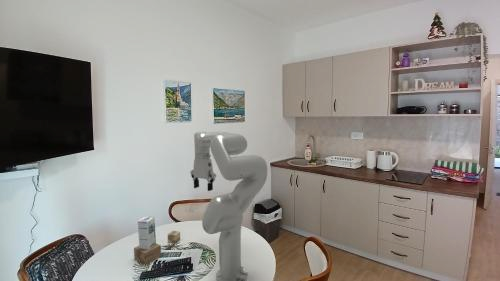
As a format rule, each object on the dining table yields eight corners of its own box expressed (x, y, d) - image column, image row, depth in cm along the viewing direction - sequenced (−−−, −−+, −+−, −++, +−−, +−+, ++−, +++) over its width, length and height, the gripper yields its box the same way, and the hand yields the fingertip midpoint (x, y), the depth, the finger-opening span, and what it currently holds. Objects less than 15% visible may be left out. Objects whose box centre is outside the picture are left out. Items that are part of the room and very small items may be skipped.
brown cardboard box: (161, 256, 132) (160, 245, 132) (145, 265, 125) (144, 253, 124) (150, 251, 137) (149, 240, 137) (134, 259, 130) (133, 247, 129)
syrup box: (149, 250, 127) (148, 221, 126) (138, 248, 129) (137, 220, 127) (156, 244, 133) (154, 216, 131) (146, 243, 134) (144, 215, 133)
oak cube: (180, 239, 150) (180, 231, 150) (175, 244, 146) (175, 235, 145) (172, 239, 152) (172, 230, 151) (167, 243, 147) (167, 234, 146)
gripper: (220, 156, 131) (220, 189, 133) (195, 154, 141) (196, 185, 143) (209, 158, 125) (210, 193, 127) (185, 155, 135) (186, 188, 136)
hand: (203, 188), depth 135 cm, fingers open, 9 cm apart
